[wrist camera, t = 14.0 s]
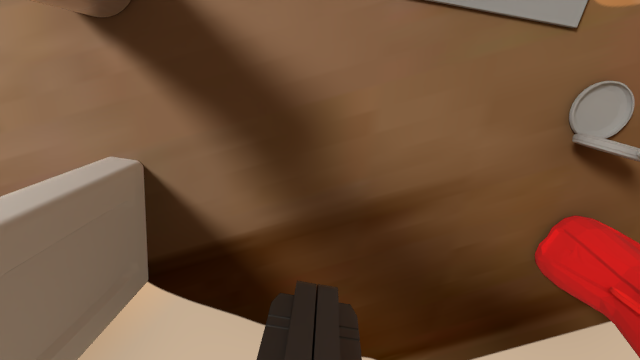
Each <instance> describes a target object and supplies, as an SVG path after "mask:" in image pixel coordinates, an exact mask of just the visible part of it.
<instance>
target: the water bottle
mask: <svg viewBox="0 0 640 360" xmlns="http://www.w3.org/2000/svg"><path fill="white" fill-rule="evenodd" d="M535 261H536V264H537V266H538V267H539V269H540V270H541V272H542V273H543V274H544V275H545V276H546V277H547V278H548V279H549V280H551V281H552V282H553V283H554V284H555V285H556V286H558V287H559V288H561V289H562V290H564V291H566V292H567V293H569V294H571V295H572V296H574V297H576V298H577V299H579V300H581V301H582V302H584V303H586V304H587V305H589V306H591V307H592V308H594V309H596V310H597V311H599V312H601V313H602V314H604V315H605V316H606V317H607V318H608V319H609V320H611V321H612V322H613V323H614V324H615V325H616V327H617V328H618V330H619V331H620V332H621V334H622V335H623V336H624V338H625V339H626V340H627V342H628V343H629V344H630V346H631V347H632V348H633V350H634V351H635V352H636V354H637V355H638V356H639V358H640V244H639V243H638V242H636V241H634V240H632V239H631V238H629V237H627V236H625V235H624V234H622V233H620V232H618V231H617V230H615V229H613V228H611V227H609V226H607V225H605V224H603V223H601V222H599V221H597V220H594V219H592V218H588V217H582V216H572V217H568V218H564V219H563V220H562V221H560V222H559V223H558V224H556V225H555V226H554V227H552V229H551V231H550V232H549V234H548V236H547V237H546V238H545V239H544V240H543V241H542V242H541V243H540V244H539V246H538V248H537V251H536V253H535Z"/></svg>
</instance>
